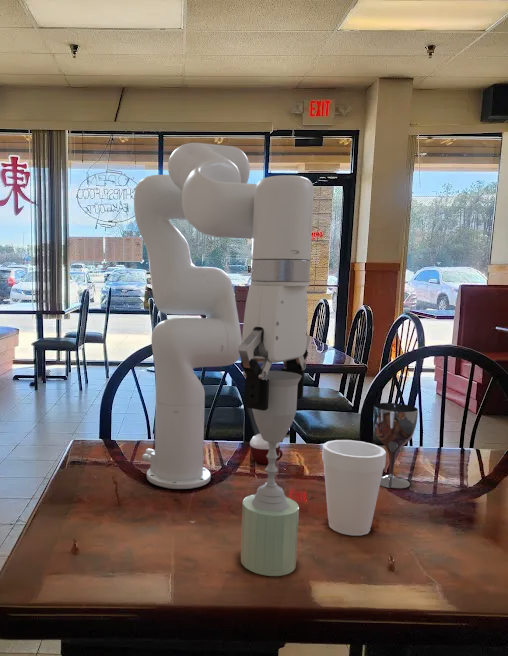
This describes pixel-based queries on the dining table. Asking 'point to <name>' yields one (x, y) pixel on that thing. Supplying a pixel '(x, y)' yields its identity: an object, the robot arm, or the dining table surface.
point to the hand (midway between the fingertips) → (274, 402)
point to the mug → (269, 538)
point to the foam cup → (352, 484)
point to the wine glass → (394, 434)
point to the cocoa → (260, 443)
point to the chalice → (276, 433)
